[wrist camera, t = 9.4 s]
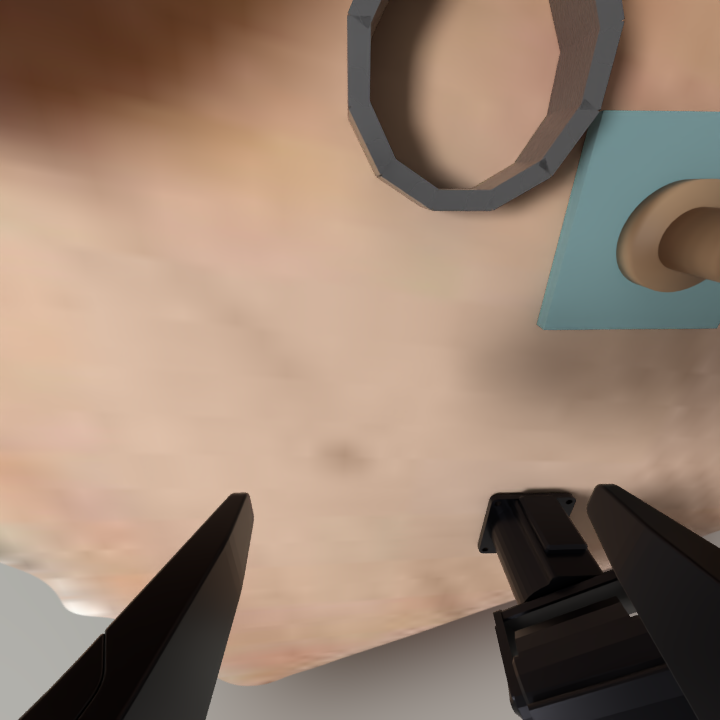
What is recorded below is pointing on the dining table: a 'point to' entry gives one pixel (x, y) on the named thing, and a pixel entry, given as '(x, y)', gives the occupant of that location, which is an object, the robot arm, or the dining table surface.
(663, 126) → the rubber mat
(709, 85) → the dining table surface
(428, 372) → the dining table surface
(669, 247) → the t key
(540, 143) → the ring socket
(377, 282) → the dining table surface
